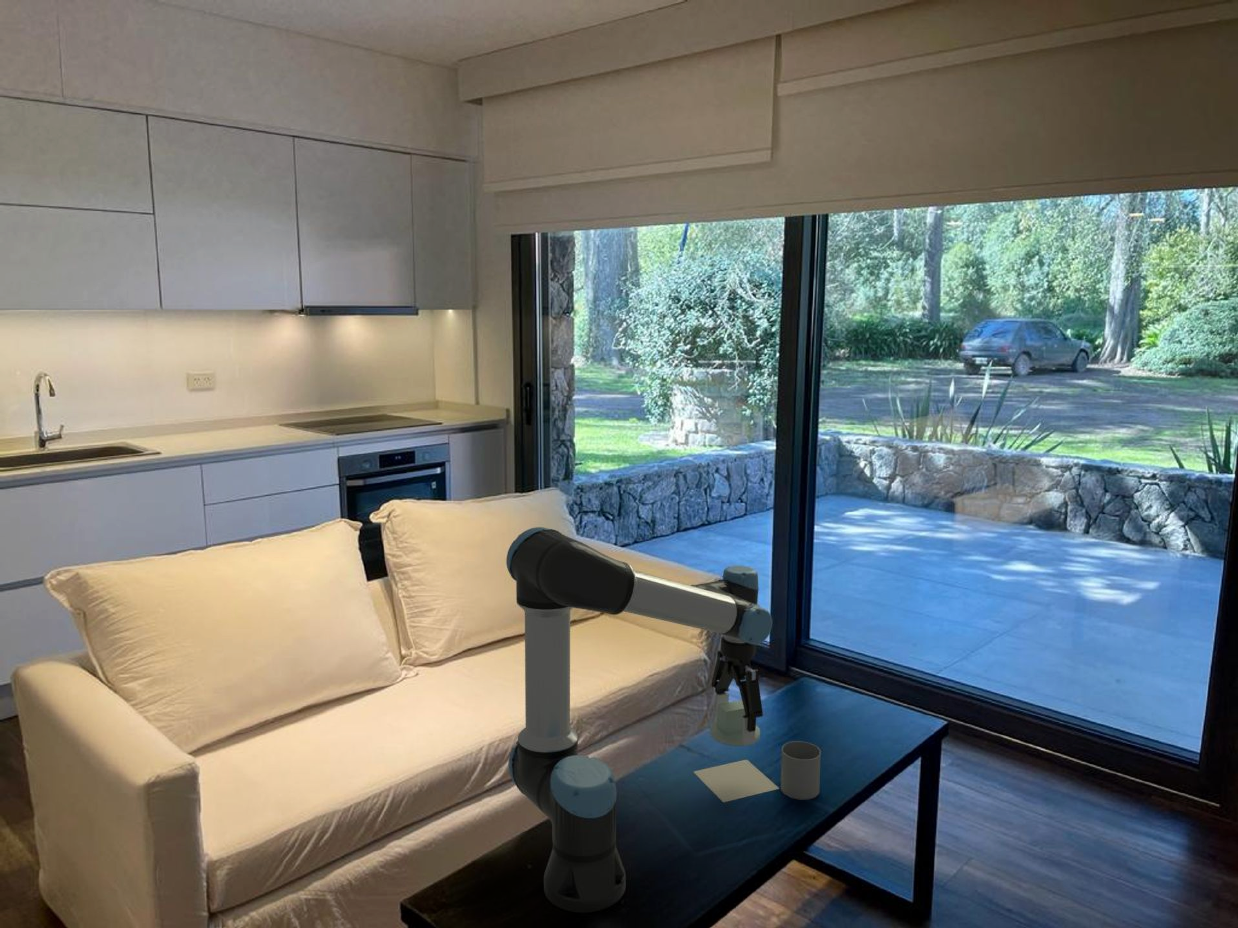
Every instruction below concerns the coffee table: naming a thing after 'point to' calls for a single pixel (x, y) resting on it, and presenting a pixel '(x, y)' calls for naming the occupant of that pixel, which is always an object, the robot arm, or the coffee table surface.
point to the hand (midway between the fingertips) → (734, 731)
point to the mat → (735, 780)
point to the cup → (800, 770)
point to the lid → (730, 724)
